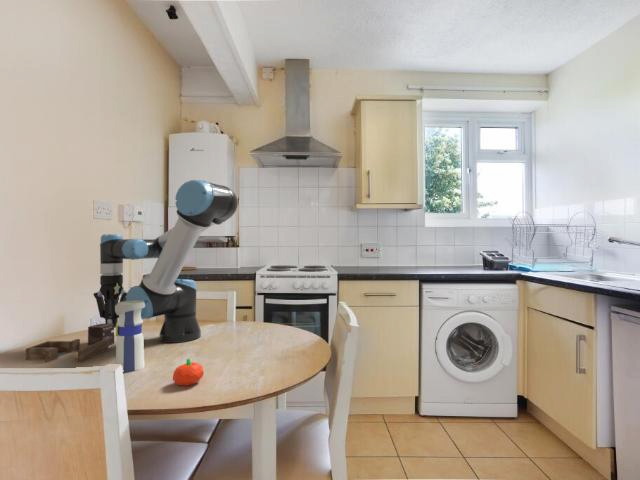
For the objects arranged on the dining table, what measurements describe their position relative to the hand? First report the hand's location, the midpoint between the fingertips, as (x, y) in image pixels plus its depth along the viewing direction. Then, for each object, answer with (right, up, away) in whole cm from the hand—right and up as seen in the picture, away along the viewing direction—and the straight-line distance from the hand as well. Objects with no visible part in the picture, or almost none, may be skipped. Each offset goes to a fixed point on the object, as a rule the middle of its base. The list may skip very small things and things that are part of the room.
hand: (111, 336), depth 136 cm
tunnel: (-4, -1, -18) cm, 19 cm away
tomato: (+46, -1, -44) cm, 63 cm away
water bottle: (+24, -1, -32) cm, 40 cm away
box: (0, -2, -6) cm, 7 cm away
